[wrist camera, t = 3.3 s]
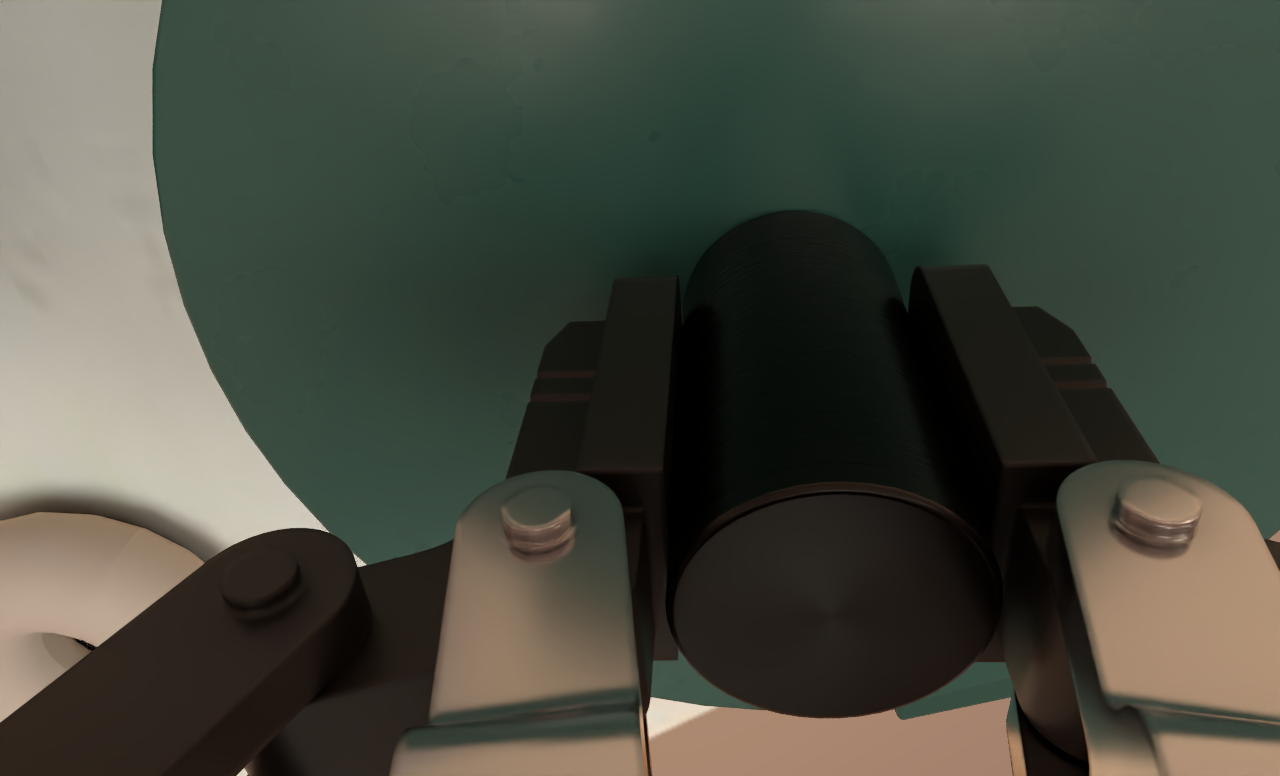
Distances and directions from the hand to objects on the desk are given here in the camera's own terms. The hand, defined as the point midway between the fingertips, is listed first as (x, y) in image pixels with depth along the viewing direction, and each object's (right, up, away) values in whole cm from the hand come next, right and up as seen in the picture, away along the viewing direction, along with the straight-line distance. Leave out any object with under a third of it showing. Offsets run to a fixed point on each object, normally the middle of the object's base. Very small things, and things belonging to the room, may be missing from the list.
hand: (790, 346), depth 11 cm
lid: (0, +1, +1) cm, 1 cm away
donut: (-18, -7, +19) cm, 27 cm away
